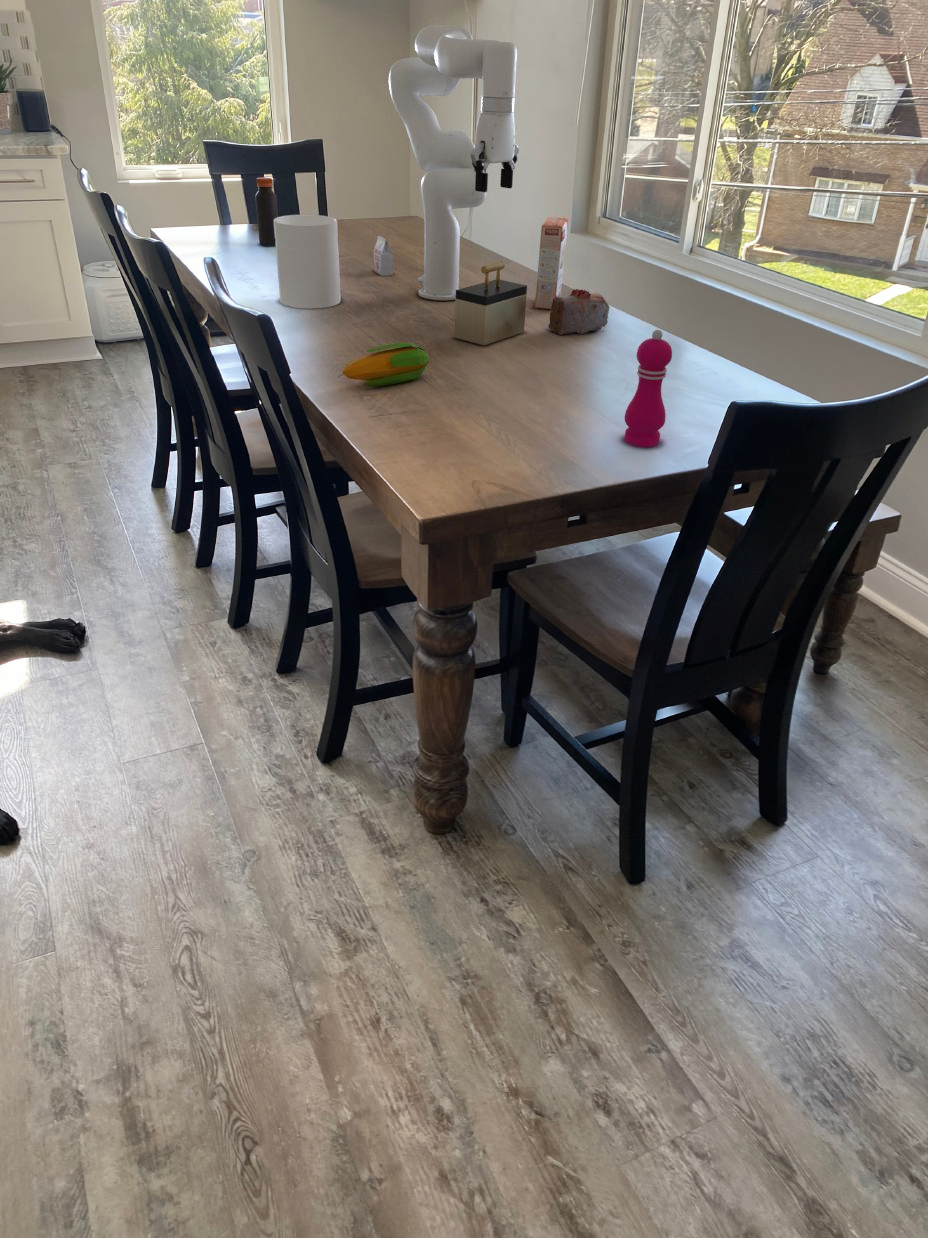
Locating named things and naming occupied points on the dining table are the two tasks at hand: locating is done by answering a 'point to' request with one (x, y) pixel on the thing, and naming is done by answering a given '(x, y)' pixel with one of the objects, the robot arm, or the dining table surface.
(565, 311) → the food item
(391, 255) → the milk carton
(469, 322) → the box
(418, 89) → the robot arm
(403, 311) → the dining table surface
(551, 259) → the cracker box
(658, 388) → the pepper mill
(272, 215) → the bottle
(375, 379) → the corn
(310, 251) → the canister
